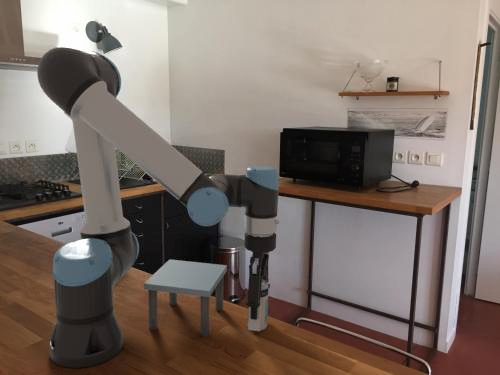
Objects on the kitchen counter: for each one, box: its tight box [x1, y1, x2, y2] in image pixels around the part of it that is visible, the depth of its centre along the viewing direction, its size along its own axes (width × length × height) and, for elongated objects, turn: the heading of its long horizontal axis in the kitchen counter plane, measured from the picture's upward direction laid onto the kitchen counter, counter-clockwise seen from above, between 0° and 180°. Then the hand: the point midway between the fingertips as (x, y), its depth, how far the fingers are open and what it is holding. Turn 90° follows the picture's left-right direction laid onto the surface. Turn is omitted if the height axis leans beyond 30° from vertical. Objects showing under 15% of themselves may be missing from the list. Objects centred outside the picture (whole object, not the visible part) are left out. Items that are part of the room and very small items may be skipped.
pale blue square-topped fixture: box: [143, 259, 228, 338], centre depth 108 cm, size 16×16×12 cm
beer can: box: [247, 279, 270, 332], centre depth 105 cm, size 5×5×12 cm
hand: (257, 320), depth 106 cm, fingers open, 8 cm apart
